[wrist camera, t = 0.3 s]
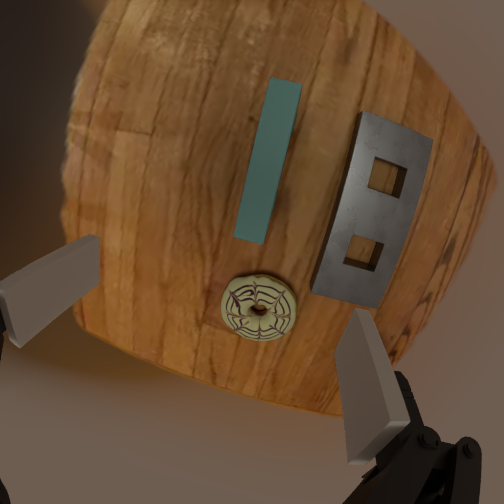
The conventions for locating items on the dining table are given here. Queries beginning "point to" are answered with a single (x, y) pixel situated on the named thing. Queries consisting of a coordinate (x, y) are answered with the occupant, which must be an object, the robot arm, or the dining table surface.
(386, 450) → the robot arm
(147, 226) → the dining table surface
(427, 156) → the slotted metal plate
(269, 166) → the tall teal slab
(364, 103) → the dining table surface
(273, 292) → the decorated donut
